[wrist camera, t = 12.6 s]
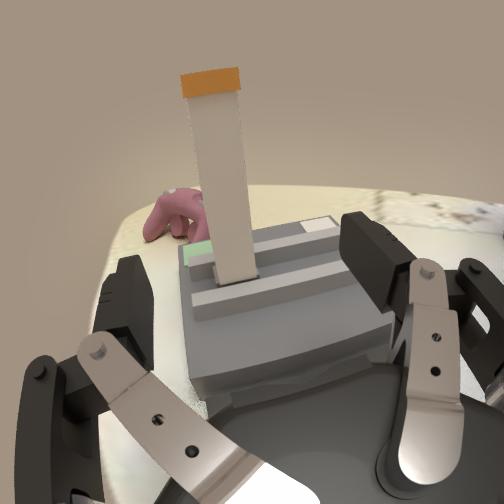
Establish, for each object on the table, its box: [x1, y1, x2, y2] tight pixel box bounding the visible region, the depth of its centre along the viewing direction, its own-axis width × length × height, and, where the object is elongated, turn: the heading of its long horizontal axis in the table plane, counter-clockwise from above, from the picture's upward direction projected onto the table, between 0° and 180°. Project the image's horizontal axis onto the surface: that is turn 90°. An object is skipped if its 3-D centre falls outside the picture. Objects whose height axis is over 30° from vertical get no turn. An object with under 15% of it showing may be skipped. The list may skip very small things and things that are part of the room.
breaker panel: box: [178, 215, 395, 401], centre depth 23 cm, size 15×14×4 cm
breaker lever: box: [180, 67, 260, 288], centre depth 17 cm, size 3×3×14 cm
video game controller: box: [143, 188, 210, 243], centre depth 32 cm, size 10×5×7 cm, turn 51°
